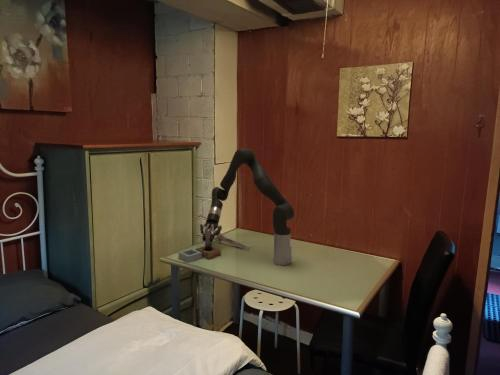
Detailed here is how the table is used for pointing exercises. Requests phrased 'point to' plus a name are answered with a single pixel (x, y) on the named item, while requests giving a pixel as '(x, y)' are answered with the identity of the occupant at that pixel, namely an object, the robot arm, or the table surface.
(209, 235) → the axle
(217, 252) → the beam block
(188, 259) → the seat block
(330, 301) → the table surface
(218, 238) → the wrench
